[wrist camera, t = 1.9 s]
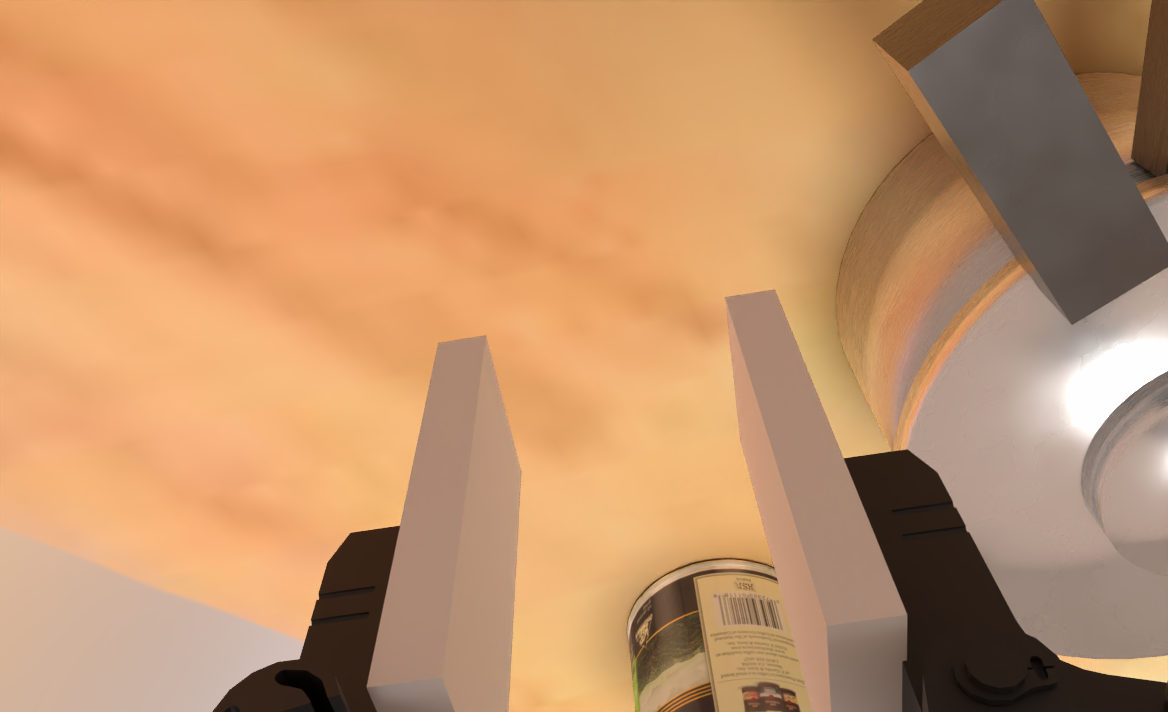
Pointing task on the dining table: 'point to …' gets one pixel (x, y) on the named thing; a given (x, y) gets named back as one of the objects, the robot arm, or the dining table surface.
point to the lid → (1047, 336)
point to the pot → (963, 235)
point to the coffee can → (715, 642)
